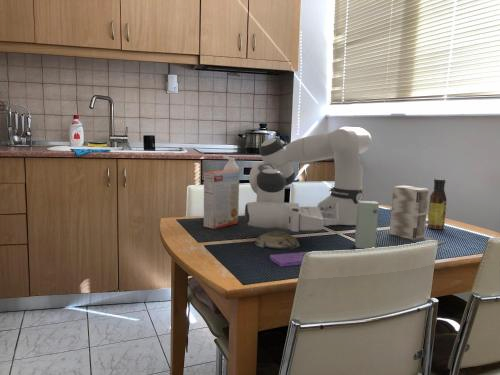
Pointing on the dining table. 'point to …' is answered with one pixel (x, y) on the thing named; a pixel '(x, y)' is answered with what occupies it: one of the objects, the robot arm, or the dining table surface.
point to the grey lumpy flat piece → (277, 240)
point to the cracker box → (221, 198)
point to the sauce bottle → (437, 206)
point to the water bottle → (230, 164)
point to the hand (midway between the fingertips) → (335, 218)
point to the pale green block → (366, 224)
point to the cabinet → (409, 213)
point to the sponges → (288, 259)
